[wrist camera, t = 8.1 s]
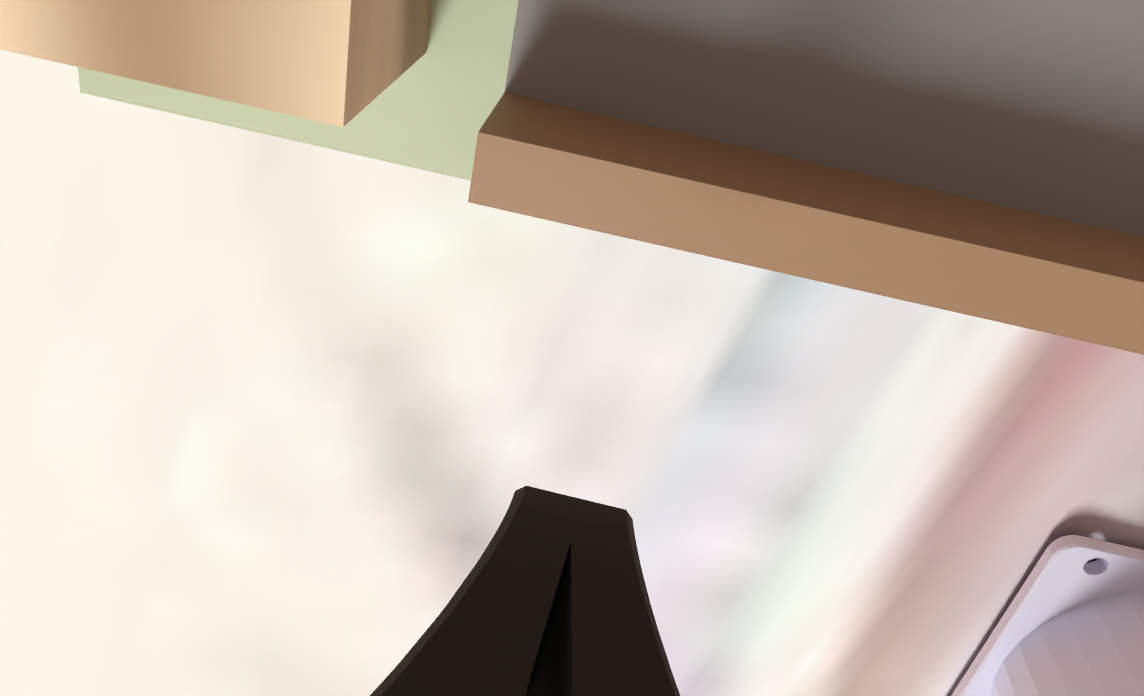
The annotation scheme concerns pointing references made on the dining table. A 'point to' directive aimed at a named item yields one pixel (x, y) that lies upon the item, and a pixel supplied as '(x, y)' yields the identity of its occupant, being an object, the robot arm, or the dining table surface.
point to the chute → (791, 139)
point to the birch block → (233, 46)
